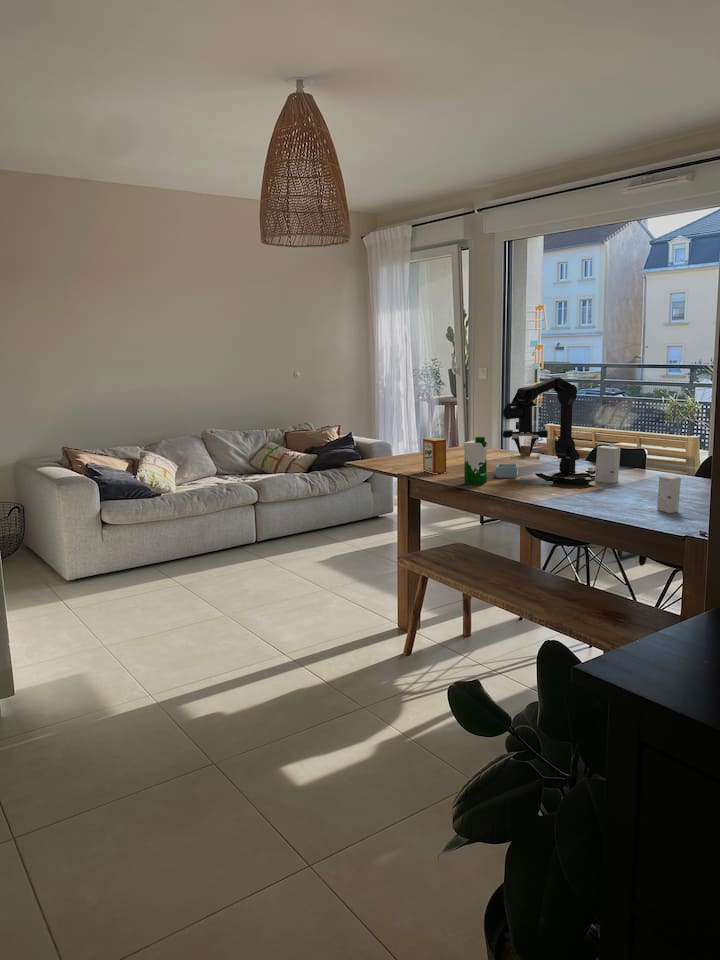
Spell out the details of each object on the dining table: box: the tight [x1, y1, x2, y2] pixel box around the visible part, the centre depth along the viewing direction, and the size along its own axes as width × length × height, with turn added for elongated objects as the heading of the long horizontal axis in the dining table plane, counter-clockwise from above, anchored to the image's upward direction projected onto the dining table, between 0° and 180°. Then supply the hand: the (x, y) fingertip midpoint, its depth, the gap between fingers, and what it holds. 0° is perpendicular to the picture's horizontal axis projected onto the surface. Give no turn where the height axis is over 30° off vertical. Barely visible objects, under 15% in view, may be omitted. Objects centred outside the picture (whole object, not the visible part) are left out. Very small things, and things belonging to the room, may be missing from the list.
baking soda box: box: [422, 437, 447, 474], centre depth 350 cm, size 10×6×16 cm
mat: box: [517, 477, 554, 486], centre depth 321 cm, size 14×14×1 cm
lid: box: [509, 445, 541, 461], centre depth 324 cm, size 12×12×5 cm
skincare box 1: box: [594, 445, 621, 484], centre depth 315 cm, size 8×6×15 cm
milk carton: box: [462, 436, 489, 486], centre depth 320 cm, size 9×9×20 cm
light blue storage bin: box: [495, 463, 519, 479], centre depth 334 cm, size 9×9×5 cm
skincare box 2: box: [656, 474, 682, 514], centre depth 261 cm, size 6×4×12 cm
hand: (525, 453), depth 324 cm, fingers closed on lid, 4 cm apart
